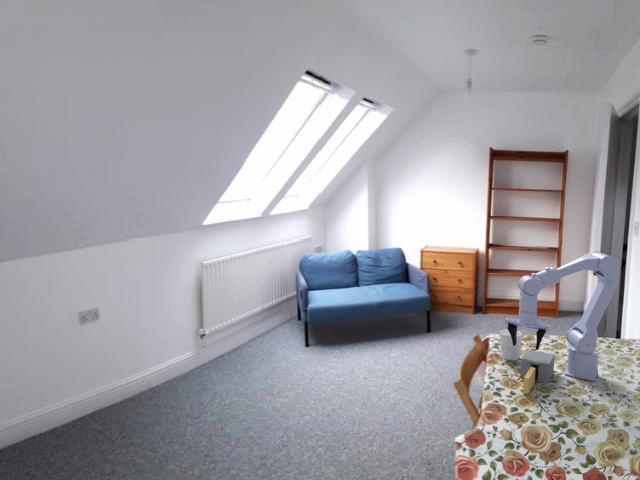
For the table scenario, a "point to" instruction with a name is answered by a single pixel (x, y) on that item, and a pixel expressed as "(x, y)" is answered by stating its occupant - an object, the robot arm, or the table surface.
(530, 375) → the yellow rectangular block
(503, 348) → the white cup
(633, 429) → the table surface
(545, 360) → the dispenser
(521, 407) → the table surface
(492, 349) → the table surface
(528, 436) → the table surface
